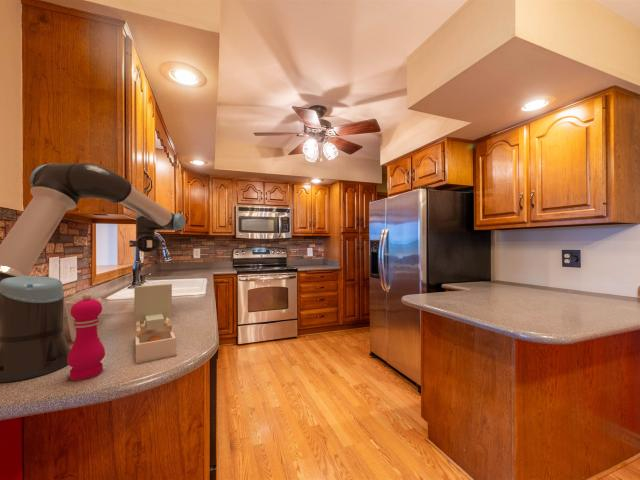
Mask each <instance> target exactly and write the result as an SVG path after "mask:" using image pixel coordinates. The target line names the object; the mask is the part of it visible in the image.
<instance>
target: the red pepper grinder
mask: <svg viewBox="0 0 640 480" xmlns="http://www.w3.org/2000/svg"><path fill="white" fill-rule="evenodd" d="M91 299H94V300H97V301H99V302H100V303H101V305H102V306H103V304H102V303H103V299H102V298H101V297H91ZM81 300H83V298H82V297H81V298H76V299H75V298H74V299H70V300H67V301H65V303H64V308H65V311H66V316H67V323H68V327H69V335H70V339H71V342H72V343H74V341H75V338H76V328H75V327H73V325H74V323H73V322H74V321H75V319H74V318H73V317H72V316H71V308H72V306H73V305H74V304H75V303H76V302H78V301H81ZM100 315H101V313H100V314H99V316H98V317H99V318H100ZM98 327H99V324H98V325H97V329H98Z"/></svg>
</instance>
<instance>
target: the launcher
mask: <svg viewBox="0 0 640 480" xmlns="http://www.w3.org/2000/svg"><path fill="white" fill-rule="evenodd" d="M135 330H136V335H137V336H140V335H146V334H153V333H159V332H165V331H171V330H172V331H173V325H172V323H171V322H170V319H169V318H164V328H159V329H153V330H146V325H145V321H139V322H135Z"/></svg>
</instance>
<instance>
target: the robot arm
mask: <svg viewBox="0 0 640 480" xmlns="http://www.w3.org/2000/svg"><path fill="white" fill-rule="evenodd" d="M29 182H31V183H30V184H29V185H30V187H31V188H30V194H31V195H32V199H31V200H30V201H29V203H28V205H27V206H26V207H25V208H24V210H23V211H22V212H21V214H20V215H19V217H18V219H17V220H16V222H15V223H14V224H13V226H12V227H11V229H9V231H8V233H7V234H6V236H5V237H4V239H3V240H2V242H0V383H7V382H8V383H9V382H10V383H11V382H17V381H23V380H27V379H32V378H36V377H39V376H43V375H47V374H50V373H53V372H55V371H58V370H60V369H63V368H64V367H66V366H67V365H68V363H67V358H68V354H69V351H70V350H71V347H70V345H69V344H68V341H67V339H66V337H65V335H64V306H65V303H64V298H65V297H64V296H65V292H64V287H63V286H64V285H63V282H62V281H61V280H60V279H58V278H55V277H52V276H51V277H49V276H41V275H38V276H34V275H33V276H31V275H29V274H30V272H31V270H32V269H33V267H34V265H35V264H36V262H37V261H38V259H39V257H40V256H41V254H42V253H43V251H44V249H45V247H46V246H47V244H48V243H49V240H50V239H51V237H52V235H54V233H55V230H56V229H57V228H58V226H59V224H60V222H61V221H62V220H63V217H64V216H65V215H66V212H67V211H72V210H75V209H76V208H77V206H78V204H79V202H80V201H81V199H102V200H106V201H108V202H110V203H112V204H120V205H122V206H123V207H125V208H127V209H129V210H131V211H133V212H135V213H136V214H137V213H138V214H137V216H135V231H136V232H135V240H132V239H131V240H129V242H128V244H129V247H130V248H136V249H137V250H139V251H140V252H143V253H145V254H148V253H151V252H153V251H154V250H155V249H157V248H159V247H162V248H164V247H165V240H157V239H156V231H180V230H181V231H182V230H183V229H185V227H186V224H187V223H186V218H185V216H184V215H183V214H182V213H173V212H172V211H170V210H168V209H166V208H165V207H163V206H162V205H160V204H159V203H158V202H156V201H154V199H151V198H150V197H149V196H147V195H145V194H144V193H142V192H141V191H139V190H138V189H137V188H135V187H133V186H132V183H131V182H130V181H129V180H128V179H126V178H125V177H124V176H121V175H120V174H118V173H117V172H115V171H113V170H111V169H109V168H106V167H104V166H102V165H98V164H95V163H91V162H70V163H69V162H67V163H66V162H63V163H62V162H61V163H60V162H53V163H48V164H46V163H45V164H43V165H39V166H37V167H36V168H35V169H34V170H33V171H32V172H31V174H30V177H29Z"/></svg>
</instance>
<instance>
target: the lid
mask: <svg viewBox="0 0 640 480" xmlns="http://www.w3.org/2000/svg"><path fill="white" fill-rule="evenodd" d="M172 286H173V284H172V283H164V284H152V285H137V286H133V287H134V289H133V290H134V291H133V293H134V295H133V296H134V304H133V305H134V309H133V310H134V311H133V313H134V317H133V318H134V323H136V322H139V321H145V325H146V330H153V329H159V328H164V318H168V319H169V318H172V317H173V316H172V314H173V311H172V309H173V308H172V305H173V300H172V298H173V297H172V296H173V289H172V288H173V287H172Z"/></svg>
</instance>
